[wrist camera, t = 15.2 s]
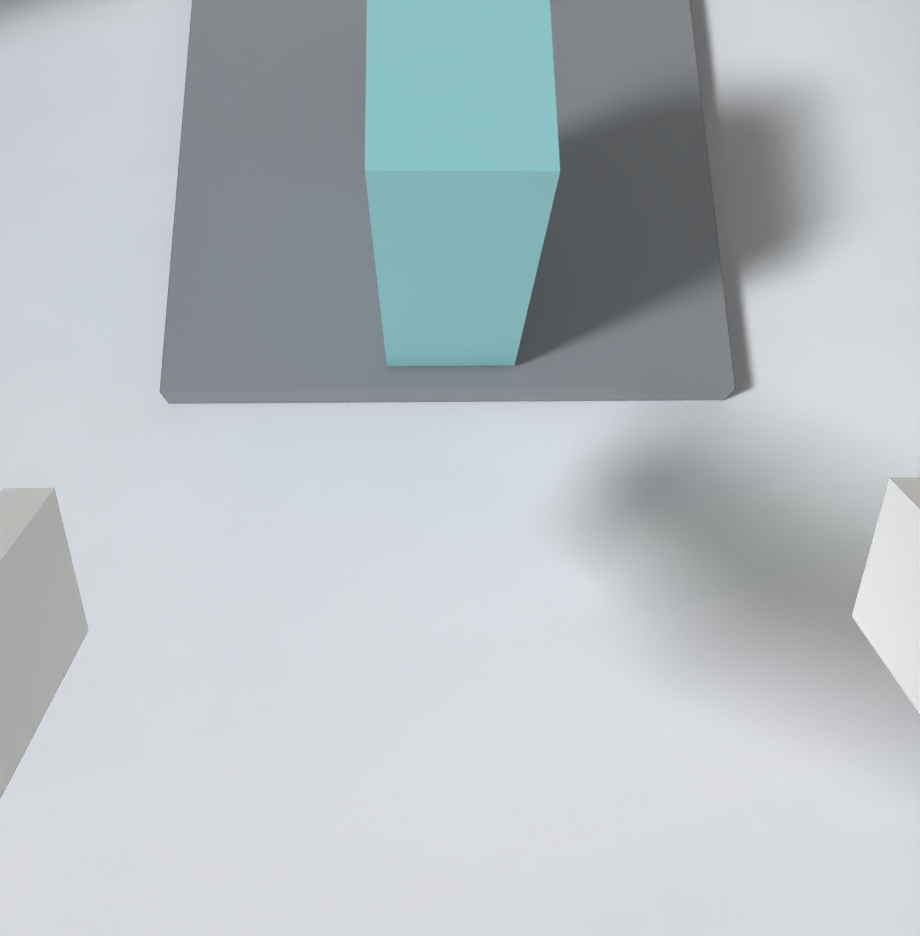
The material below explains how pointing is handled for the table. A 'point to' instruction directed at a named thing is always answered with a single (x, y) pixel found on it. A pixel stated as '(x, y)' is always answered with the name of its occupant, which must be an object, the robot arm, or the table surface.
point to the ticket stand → (349, 228)
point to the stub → (458, 172)
